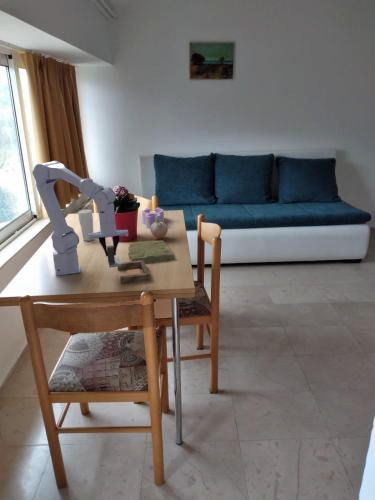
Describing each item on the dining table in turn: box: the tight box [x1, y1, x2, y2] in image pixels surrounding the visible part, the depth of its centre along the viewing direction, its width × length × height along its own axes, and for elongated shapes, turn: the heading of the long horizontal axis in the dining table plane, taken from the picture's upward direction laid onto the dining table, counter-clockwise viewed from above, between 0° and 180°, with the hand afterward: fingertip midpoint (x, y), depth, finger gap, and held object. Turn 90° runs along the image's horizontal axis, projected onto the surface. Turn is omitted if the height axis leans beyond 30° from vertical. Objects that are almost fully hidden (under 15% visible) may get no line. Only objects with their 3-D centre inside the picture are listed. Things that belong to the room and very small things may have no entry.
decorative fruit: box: [150, 220, 168, 240], centre depth 186 cm, size 9×8×10 cm
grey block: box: [106, 244, 122, 268], centre depth 143 cm, size 4×8×7 cm, turn 15°
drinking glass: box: [77, 209, 94, 242], centre depth 187 cm, size 7×7×15 cm
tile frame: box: [117, 260, 151, 285], centre depth 148 cm, size 11×15×2 cm
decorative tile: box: [127, 239, 174, 264], centre depth 168 cm, size 19×20×4 cm
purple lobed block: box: [141, 207, 165, 230], centre depth 213 cm, size 20×12×7 cm, turn 6°
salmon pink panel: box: [126, 268, 142, 276], centre depth 148 cm, size 5×5×2 cm
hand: (110, 255), depth 143 cm, fingers closed on grey block, 2 cm apart
